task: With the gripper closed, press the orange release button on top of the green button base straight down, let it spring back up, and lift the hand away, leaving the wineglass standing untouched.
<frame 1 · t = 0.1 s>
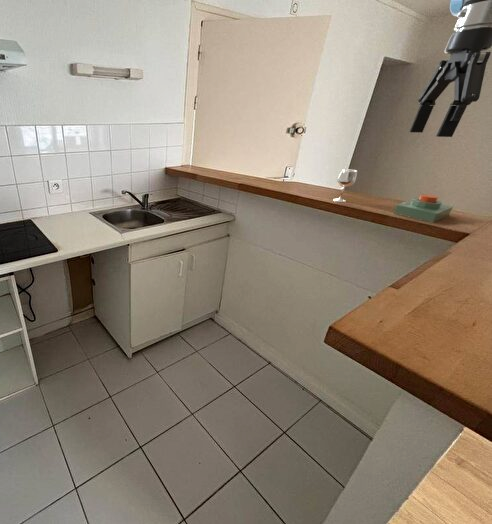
hand: (428, 134, 73), 27 cm above the worktop, tool pointing down, fingers open, 13 cm apart
green button base: (420, 214, 100), on the worktop
release button: (428, 198, 97), point 6 cm above the worktop, slide at 0.1 cm
wineglass: (339, 201, 115), on the worktop
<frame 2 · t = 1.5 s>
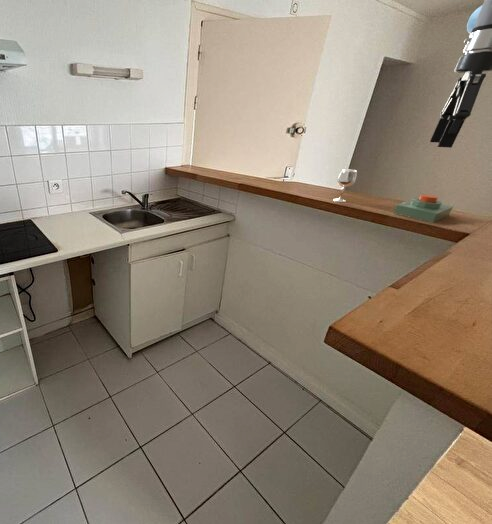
hand: (439, 144, 80), 24 cm above the worktop, tool pointing down, fingers open, 13 cm apart
nothing on the worktop moved.
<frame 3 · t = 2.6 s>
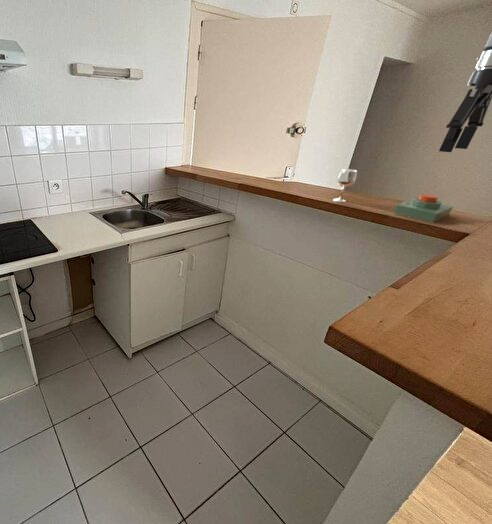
hand: (452, 150, 89), 21 cm above the worktop, tool pointing down, fingers open, 13 cm apart
nothing on the worktop moved.
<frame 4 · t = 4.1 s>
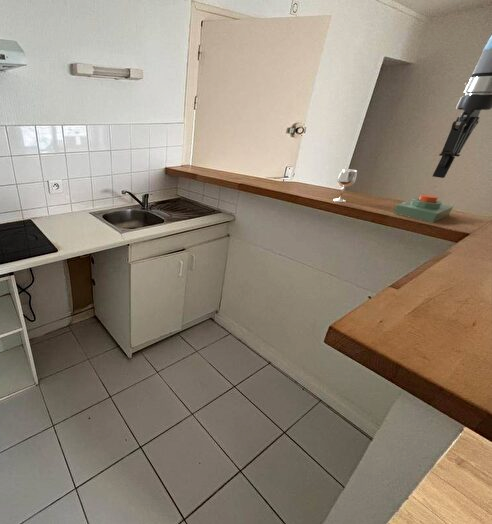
hand: (438, 176, 93), 13 cm above the worktop, tool pointing down, fingers closed
nothing on the worktop moved.
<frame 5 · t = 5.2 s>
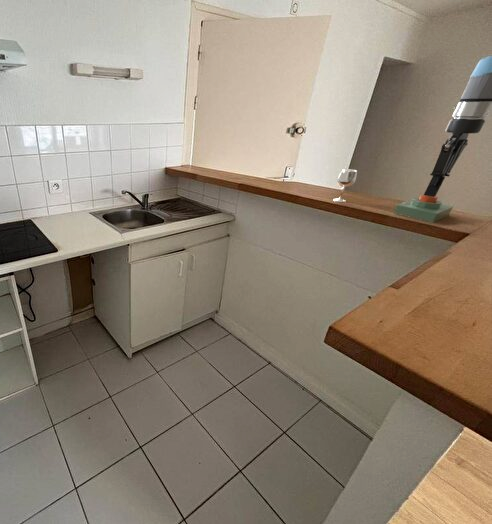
hand: (429, 195, 96), 7 cm above the worktop, tool pointing down, fingers closed
release button: (428, 199, 97), point 6 cm above the worktop, slide at 0.0 cm, touching gripper
everything else where it was.
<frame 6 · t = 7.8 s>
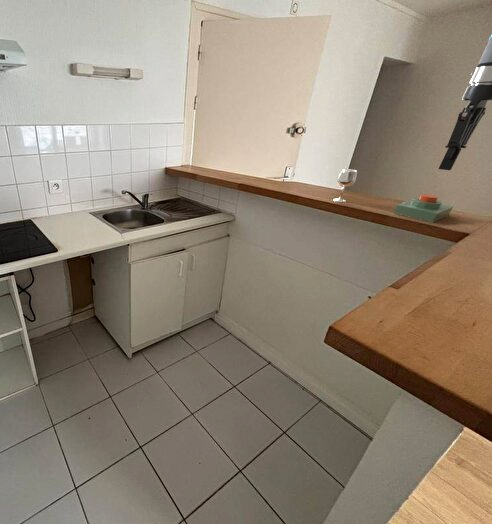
hand: (444, 169, 92), 15 cm above the worktop, tool pointing down, fingers closed
release button: (428, 198, 97), point 6 cm above the worktop, slide at 0.1 cm
everything else where it was.
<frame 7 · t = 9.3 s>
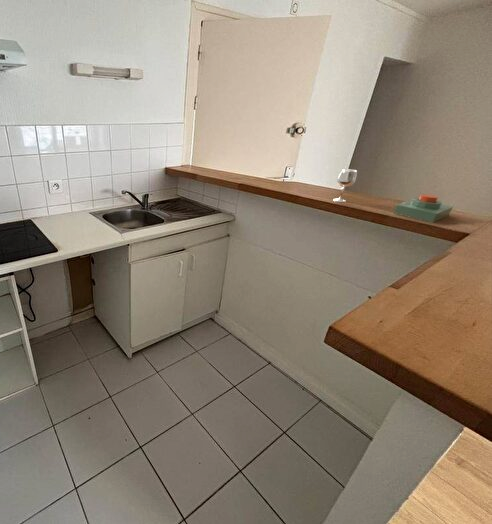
nothing on the worktop moved.
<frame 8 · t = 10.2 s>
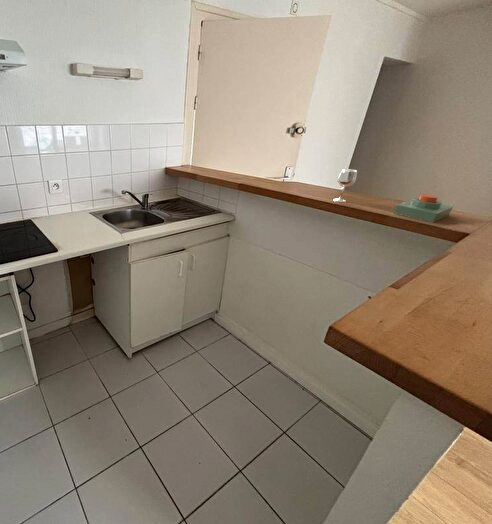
nothing on the worktop moved.
at the end: release button pushed in 1.0 cm at the most during the clip, back to where it started at the end; release button slide at 0.1 cm; wineglass tilted 0° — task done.
